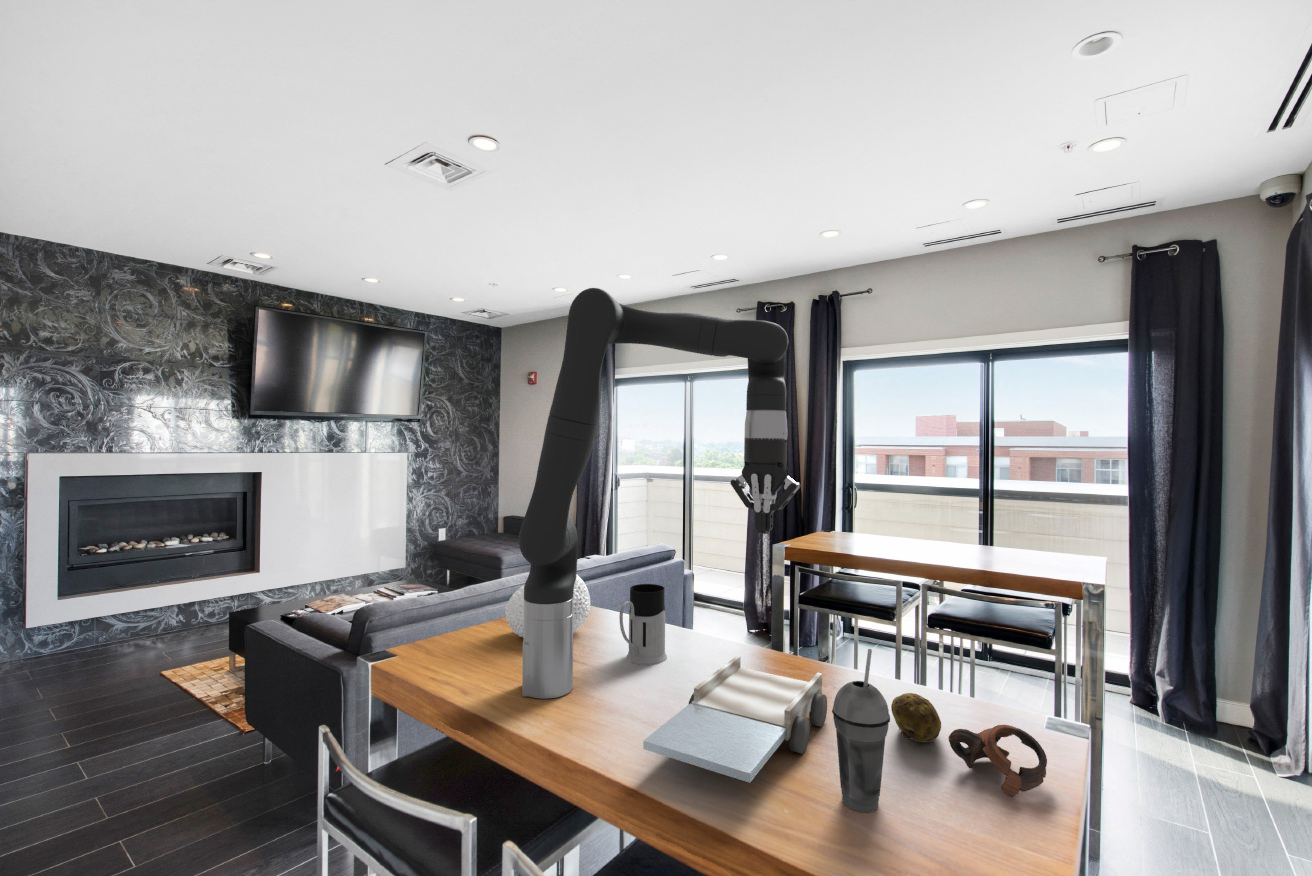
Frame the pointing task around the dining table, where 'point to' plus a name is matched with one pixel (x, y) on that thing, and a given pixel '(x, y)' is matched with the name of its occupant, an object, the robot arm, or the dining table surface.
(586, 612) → the cauliflower
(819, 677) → the flatbed cart
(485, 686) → the dining table surface
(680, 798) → the dining table surface
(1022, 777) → the brown curved piece
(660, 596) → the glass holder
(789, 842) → the dining table surface
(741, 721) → the panel
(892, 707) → the potato
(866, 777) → the beverage cup
